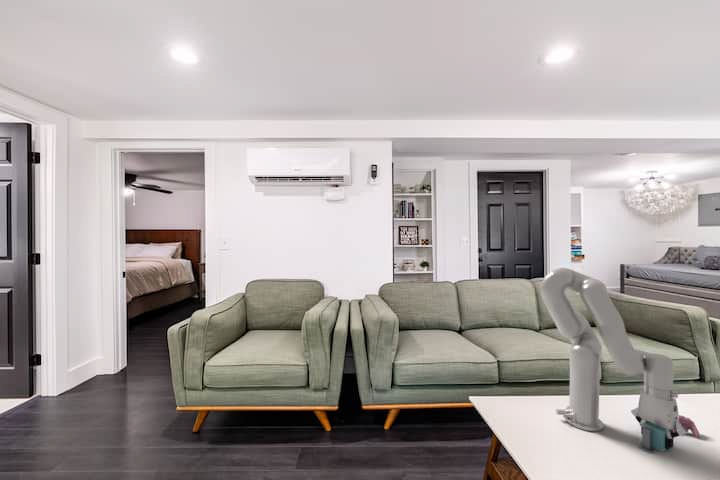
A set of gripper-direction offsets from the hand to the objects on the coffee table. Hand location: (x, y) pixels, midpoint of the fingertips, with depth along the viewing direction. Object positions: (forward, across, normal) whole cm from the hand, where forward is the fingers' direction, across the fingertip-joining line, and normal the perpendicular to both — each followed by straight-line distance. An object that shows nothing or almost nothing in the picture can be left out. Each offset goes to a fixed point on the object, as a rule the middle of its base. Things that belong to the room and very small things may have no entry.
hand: (656, 442), depth 117 cm
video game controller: (+1, 0, -17) cm, 17 cm away
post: (+1, 0, +6) cm, 6 cm away
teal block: (+1, 0, 0) cm, 1 cm away
